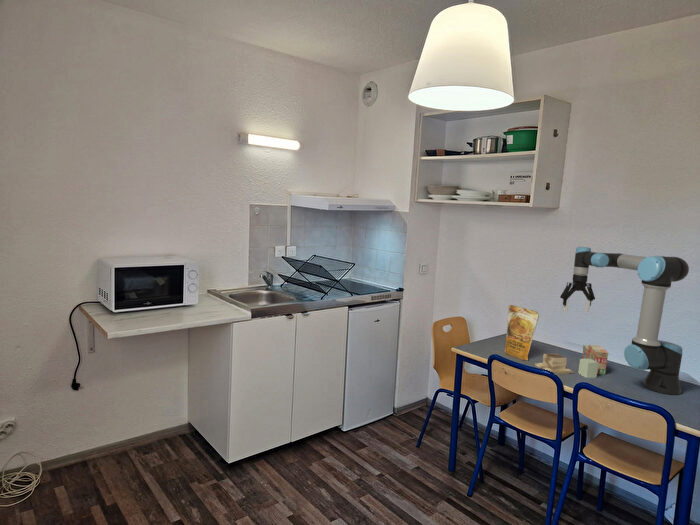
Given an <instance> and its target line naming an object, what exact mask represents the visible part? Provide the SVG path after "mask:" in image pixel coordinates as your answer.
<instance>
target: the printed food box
mask: <svg viewBox="0 0 700 525" xmlns="http://www.w3.org/2000/svg"><path fill="white" fill-rule="evenodd" d="M608 356H609V352H608V351H607V349H606V348H604V347H603V346H602V345H597V344H596V345H595V344H588V345H584V344H583V346H582V356H581V357H582V358H581V359H592V360H594V361H596V362H598V370H597V375H605V376H606V371H607V364H608Z"/></svg>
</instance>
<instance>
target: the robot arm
mask: <svg viewBox="0 0 700 525" xmlns="http://www.w3.org/2000/svg"><path fill="white" fill-rule="evenodd" d="M590 266H591V267H596V268H604V267H605V268H608V267H609V268H618V269H625V270H631V271H636V272H637V275H638V278H639V279H640V280H641V281H640V282H641V285H642V286H643V293H642V300H641V307H640V313H639V318H638V324H637V330H636V335H635V336H634V337H632V339H631V344H629V345H627V346H626V347H624V352H623V356H624V359H625V362H626V363H627V364H628V366H629V367H630V368H632V369H634V370H640V371H642V370H643V371H647V370H649V372H648V373H647V375H646V378H645V379H644V382H643V385H644V387H645V388H647V389H649V390H651V391H653V392H657V393H660V394H665V395H673V396H675V395H681V393H682V386H681V383H680V371H681V364H682V358H683V347H682V346H681V345H679V344H676V343H673V342H668V341H666V340H660V339H659V333H660V328H661V322H662V316H663V310H664V304H665V298H666V292H667V290H668V289H670V288H671V286H672V283H673V282H679V281H682V280H684V279H685V278H686V277H687V276H688V274H689V270H690V267H689V265H688V262H687V261H686V260H684V259H683V258H681V257H678V256H662V255H654V256H653V255H651V256H641V255H640V256H639V255H633V254H625V253H622V252H621V253H619V252H617V253H613V252H612V253H611V252H609V253H608V252H594V251H592V249H591V247H587V246H577V247H576V249H575V254H574V263H573V270H572V271H573V272H572V273H573V275H572V282H569V281H568V282H566V286H565V288H563V289H564V290H562V292H561V294H560V299H562V305H563V307H562V308H563V311H564V312H566V313H567V312H568V308H569V301H570V300H568V299H570V297H571V296H572V295H573V294H574V293H575V292H579V291H580V292H583V295H584V296H585V297H586V300H585V307H584V312H587V313H590V308H591V306H592V302H593V301H595V300H596V297H595V294H594V291H593V287H592V285H593V284H592V283H590V282H588V275H589V271H590V270H589V268H590Z"/></svg>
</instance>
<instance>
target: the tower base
mask: <svg viewBox="0 0 700 525" xmlns="http://www.w3.org/2000/svg"><path fill="white" fill-rule="evenodd" d="M567 359H568V358H566V357H565V356H563V355H560V354H558V353H543V356H542V362H534V366H536V367H537V368H539V369H541V368H542V369H545V370H548V371H550V372H553V373H555V374H554V375H570V374H569V373H573V374H574V371H573V370H571V369H570V368H567V361H568V360H567ZM542 369H541V370H542Z"/></svg>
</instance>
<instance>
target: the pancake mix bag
mask: <svg viewBox="0 0 700 525" xmlns="http://www.w3.org/2000/svg"><path fill="white" fill-rule="evenodd" d="M507 309H508V310H507V312H508V313H507V322H506V337H505V338H506V340H505V341H506V342H505V345H504V346H505V347H504V353H505V354H506V355H507V356H511V357H513V358H515V359H519V360H521V361H528V360H529V352H530V348H531V347H532V346H531V345H532V342H533V338H534V336H535V333H536V332H535V331H536V328H537V325H538V322H539V318H540V313H538V311H537V310H533V309H530V308H526V307H522V306H517V305H513V304H510V305H508V308H507Z"/></svg>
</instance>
